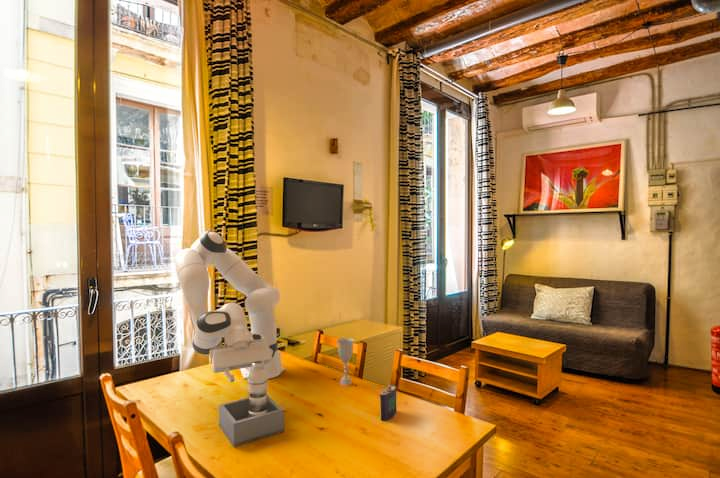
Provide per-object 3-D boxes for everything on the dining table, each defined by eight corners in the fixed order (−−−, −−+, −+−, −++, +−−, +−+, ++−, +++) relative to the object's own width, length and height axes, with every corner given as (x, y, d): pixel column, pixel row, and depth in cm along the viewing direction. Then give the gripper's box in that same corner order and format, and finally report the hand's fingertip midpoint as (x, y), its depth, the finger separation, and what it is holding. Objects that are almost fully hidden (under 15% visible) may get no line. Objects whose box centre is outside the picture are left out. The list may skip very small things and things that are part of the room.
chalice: (346, 378, 173) (346, 337, 173) (357, 382, 169) (357, 340, 168) (333, 383, 168) (333, 340, 168) (344, 387, 163) (344, 343, 163)
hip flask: (391, 409, 143) (391, 380, 143) (399, 411, 141) (398, 381, 141) (378, 420, 135) (378, 388, 135) (386, 422, 133) (386, 390, 133)
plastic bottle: (263, 429, 127) (263, 365, 128) (243, 427, 129) (243, 364, 129) (271, 420, 134) (271, 359, 134) (252, 418, 135) (252, 359, 135)
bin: (218, 425, 132) (218, 404, 132) (265, 413, 141) (265, 393, 141) (233, 447, 119) (233, 423, 119) (284, 431, 128) (283, 409, 128)
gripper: (209, 342, 138) (215, 380, 130) (267, 334, 148) (276, 368, 140) (207, 352, 142) (213, 389, 133) (264, 343, 152) (272, 377, 144)
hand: (246, 378), depth 137 cm, fingers open, 8 cm apart
